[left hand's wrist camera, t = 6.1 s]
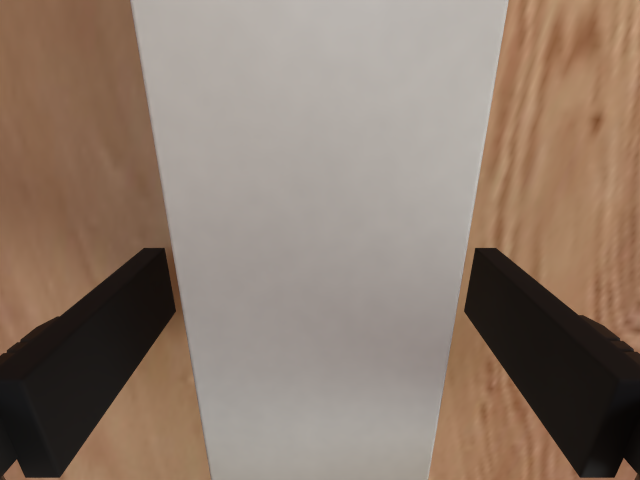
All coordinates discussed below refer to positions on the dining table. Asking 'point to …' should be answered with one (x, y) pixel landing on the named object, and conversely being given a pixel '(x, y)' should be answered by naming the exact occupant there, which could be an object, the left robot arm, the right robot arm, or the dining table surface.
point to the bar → (319, 218)
